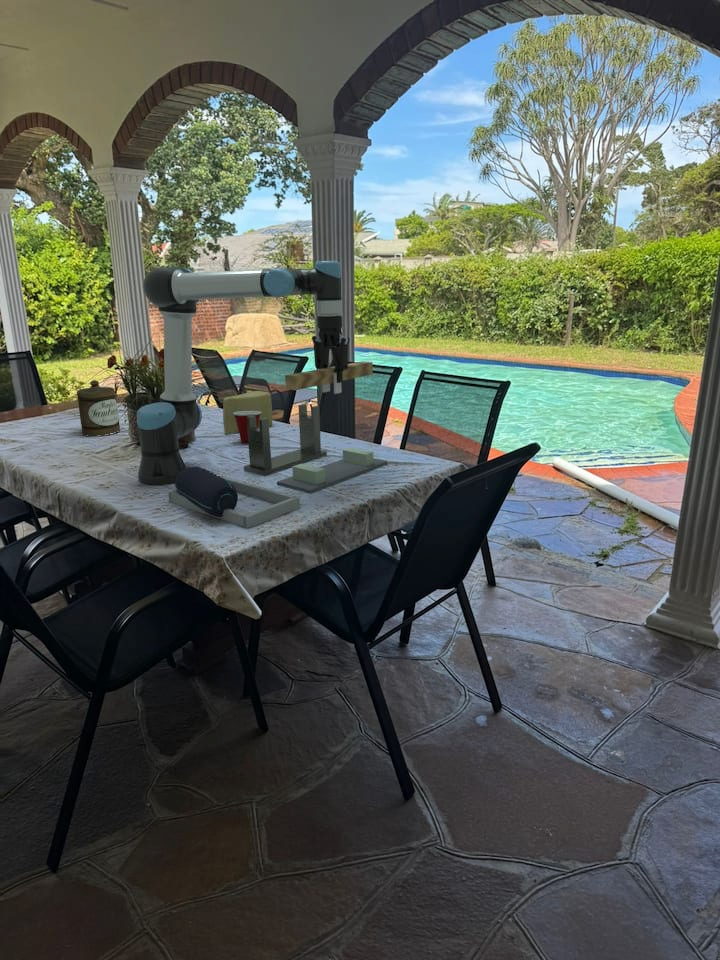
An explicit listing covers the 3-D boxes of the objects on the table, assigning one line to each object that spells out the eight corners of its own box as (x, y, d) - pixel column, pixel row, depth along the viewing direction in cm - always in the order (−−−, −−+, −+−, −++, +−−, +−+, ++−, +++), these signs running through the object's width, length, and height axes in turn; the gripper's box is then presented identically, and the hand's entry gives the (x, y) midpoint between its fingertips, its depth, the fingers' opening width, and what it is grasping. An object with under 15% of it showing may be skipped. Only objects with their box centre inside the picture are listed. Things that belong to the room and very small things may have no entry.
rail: (295, 390, 184) (294, 376, 183) (285, 389, 187) (285, 375, 185) (372, 374, 211) (372, 362, 209) (363, 373, 213) (362, 361, 212)
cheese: (232, 436, 259) (230, 399, 254) (218, 433, 265) (215, 397, 260) (274, 426, 275) (271, 391, 270) (259, 423, 281) (256, 389, 276)
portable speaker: (245, 515, 173) (242, 480, 169) (210, 524, 167) (207, 488, 164) (205, 492, 192) (202, 460, 188) (173, 500, 186) (169, 467, 183)
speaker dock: (247, 528, 164) (247, 517, 163) (169, 501, 185) (168, 491, 184) (299, 507, 178) (299, 497, 177) (221, 484, 199) (220, 475, 198)
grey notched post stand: (264, 475, 207) (261, 421, 201) (244, 470, 213) (240, 417, 207) (326, 455, 229) (325, 405, 223) (306, 451, 235) (304, 402, 229)
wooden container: (98, 438, 259) (90, 384, 252) (75, 434, 266) (66, 381, 260) (128, 431, 271) (121, 379, 264) (105, 427, 278) (98, 376, 272)
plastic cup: (266, 438, 254) (264, 408, 251) (259, 445, 244) (257, 414, 240) (239, 438, 255) (237, 408, 252) (231, 445, 245) (229, 414, 241)
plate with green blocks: (310, 493, 189) (309, 477, 188) (277, 484, 198) (276, 469, 196) (387, 464, 217) (387, 449, 216) (355, 457, 226) (355, 443, 224)
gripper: (359, 314, 190) (360, 393, 197) (317, 313, 200) (320, 388, 207) (343, 316, 184) (345, 396, 192) (300, 315, 195) (303, 391, 202)
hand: (332, 392), depth 200 cm, fingers closed on rail, 4 cm apart
